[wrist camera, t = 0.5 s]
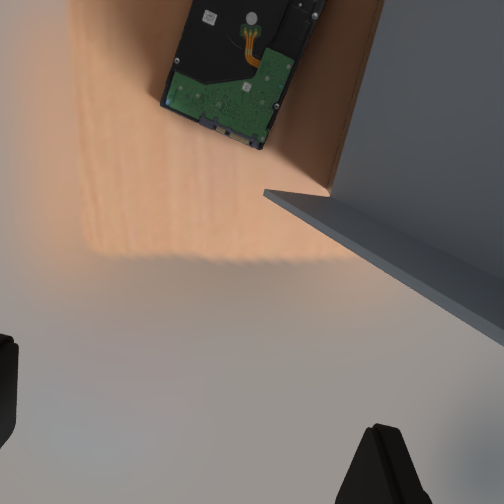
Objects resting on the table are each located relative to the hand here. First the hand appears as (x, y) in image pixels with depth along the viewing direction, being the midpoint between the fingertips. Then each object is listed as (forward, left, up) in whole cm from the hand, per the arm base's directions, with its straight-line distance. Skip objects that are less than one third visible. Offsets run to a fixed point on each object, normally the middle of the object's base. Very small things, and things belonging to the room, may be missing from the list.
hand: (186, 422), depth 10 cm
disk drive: (-13, -4, -32) cm, 35 cm away
